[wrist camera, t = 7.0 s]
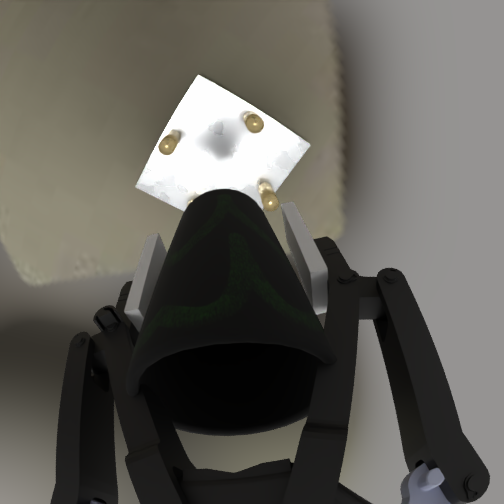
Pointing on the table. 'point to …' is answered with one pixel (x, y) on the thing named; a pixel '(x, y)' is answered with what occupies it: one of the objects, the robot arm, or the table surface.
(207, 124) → the white board with pegs
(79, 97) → the table surface
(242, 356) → the cup
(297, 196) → the table surface
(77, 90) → the table surface
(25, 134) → the table surface
